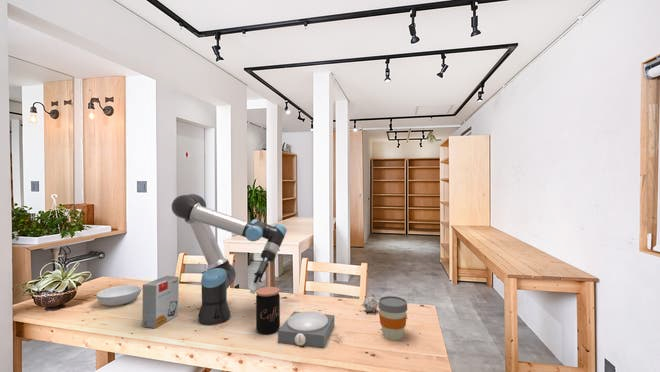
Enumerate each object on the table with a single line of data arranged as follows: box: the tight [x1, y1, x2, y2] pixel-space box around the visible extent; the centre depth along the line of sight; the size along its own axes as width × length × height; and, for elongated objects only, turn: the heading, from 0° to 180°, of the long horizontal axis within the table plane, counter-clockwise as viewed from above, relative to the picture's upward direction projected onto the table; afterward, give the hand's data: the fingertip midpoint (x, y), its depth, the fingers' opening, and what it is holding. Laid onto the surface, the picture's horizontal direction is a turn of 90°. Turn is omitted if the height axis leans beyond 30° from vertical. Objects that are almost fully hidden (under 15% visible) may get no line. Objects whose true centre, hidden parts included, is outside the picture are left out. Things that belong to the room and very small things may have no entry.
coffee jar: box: [255, 286, 281, 335], centre depth 142 cm, size 11×11×18 cm
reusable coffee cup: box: [377, 295, 408, 341], centre depth 136 cm, size 13×12×15 cm
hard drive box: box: [141, 275, 180, 329], centre depth 151 cm, size 16×8×20 cm, turn 166°
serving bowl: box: [96, 284, 142, 306], centre depth 175 cm, size 21×21×7 cm
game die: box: [361, 294, 379, 314], centre depth 161 cm, size 9×8×10 cm
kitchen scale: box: [277, 311, 335, 349], centre depth 137 cm, size 20×21×6 cm
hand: (251, 291), depth 153 cm, fingers open, 13 cm apart
